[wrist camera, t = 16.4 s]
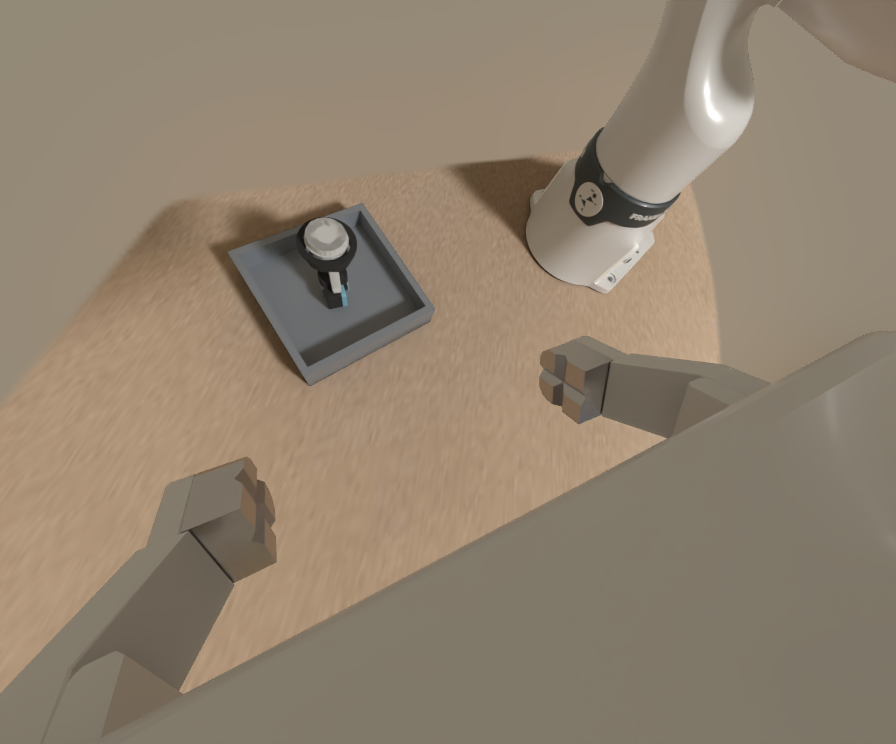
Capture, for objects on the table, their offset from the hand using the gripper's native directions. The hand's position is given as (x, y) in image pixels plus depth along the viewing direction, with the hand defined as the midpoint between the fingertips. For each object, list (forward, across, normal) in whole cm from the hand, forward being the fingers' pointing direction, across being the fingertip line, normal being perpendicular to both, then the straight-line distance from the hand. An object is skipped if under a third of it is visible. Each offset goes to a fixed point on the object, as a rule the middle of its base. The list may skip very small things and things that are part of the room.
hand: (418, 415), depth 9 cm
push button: (+35, -2, +6) cm, 35 cm away
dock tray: (+35, -2, +7) cm, 35 cm away
